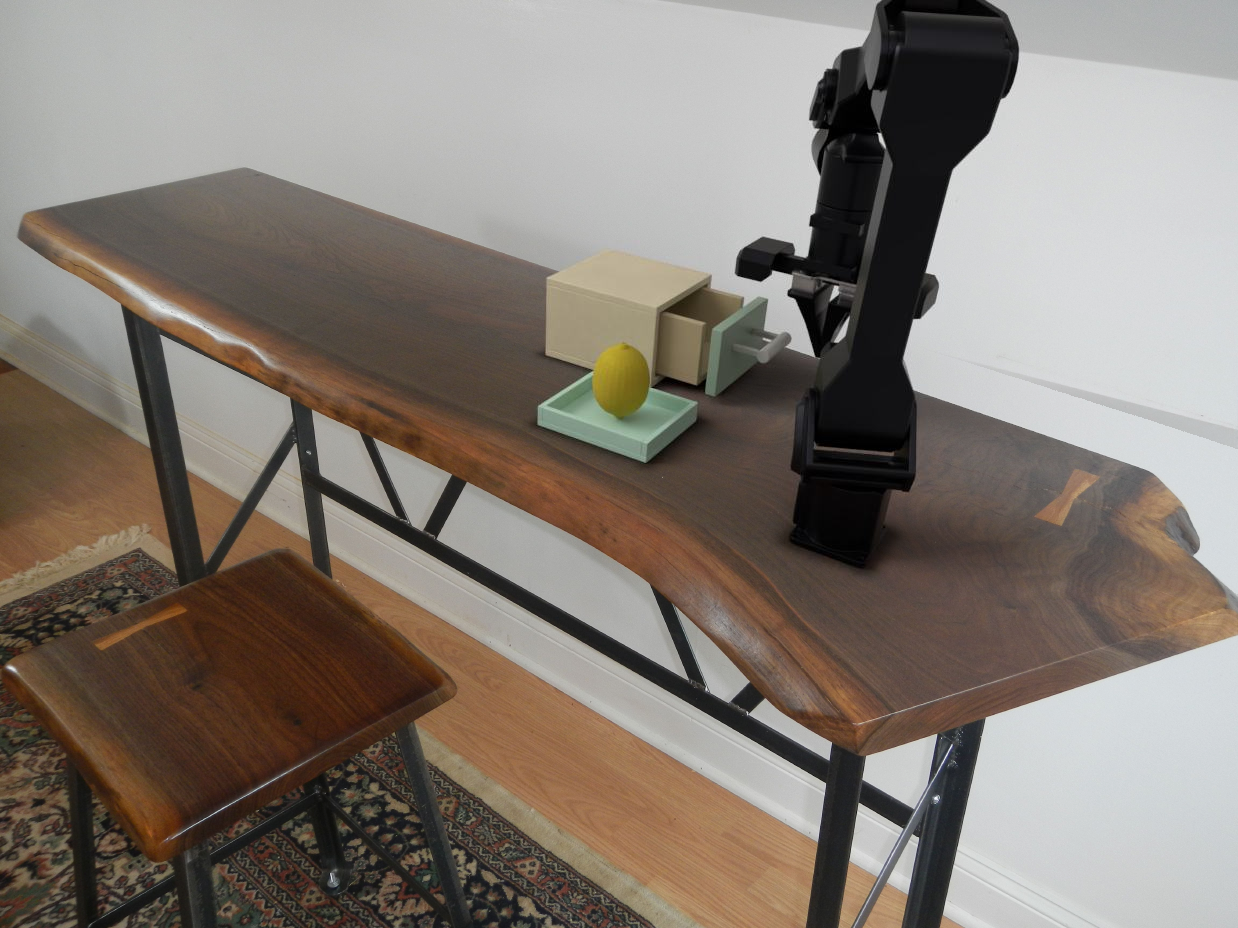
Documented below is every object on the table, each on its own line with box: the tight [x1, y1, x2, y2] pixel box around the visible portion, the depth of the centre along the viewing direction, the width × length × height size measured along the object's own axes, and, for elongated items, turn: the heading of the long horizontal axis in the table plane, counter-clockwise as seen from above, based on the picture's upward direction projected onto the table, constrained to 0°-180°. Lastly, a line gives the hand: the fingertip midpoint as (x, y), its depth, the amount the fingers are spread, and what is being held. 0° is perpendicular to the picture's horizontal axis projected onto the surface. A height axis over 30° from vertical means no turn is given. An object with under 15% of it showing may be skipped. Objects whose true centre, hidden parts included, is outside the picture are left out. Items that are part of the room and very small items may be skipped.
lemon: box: [592, 342, 650, 419], centre depth 92 cm, size 6×6×8 cm
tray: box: [537, 370, 699, 464], centre depth 94 cm, size 12×10×2 cm
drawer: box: [655, 286, 793, 398], centre depth 102 cm, size 17×11×7 cm
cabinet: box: [545, 248, 713, 388], centre depth 106 cm, size 14×13×9 cm
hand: (820, 357), depth 96 cm, fingers closed
